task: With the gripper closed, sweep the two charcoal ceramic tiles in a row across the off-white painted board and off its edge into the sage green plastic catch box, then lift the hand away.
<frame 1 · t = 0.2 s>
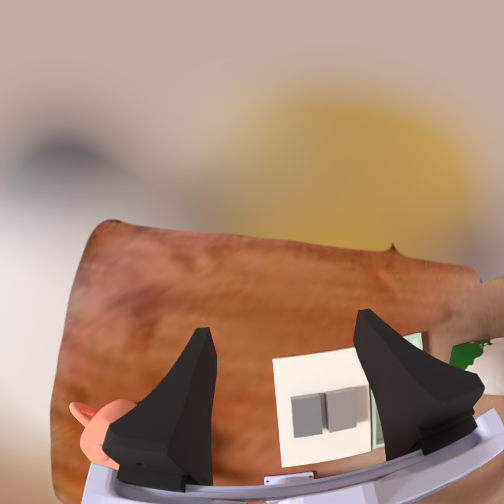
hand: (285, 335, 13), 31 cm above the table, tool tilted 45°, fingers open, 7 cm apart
board: (321, 406, 38), on the table
teapot: (139, 436, 37), on the table
milk carton: (460, 366, 37), on the table
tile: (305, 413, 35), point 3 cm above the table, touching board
catch box: (393, 390, 37), on the table
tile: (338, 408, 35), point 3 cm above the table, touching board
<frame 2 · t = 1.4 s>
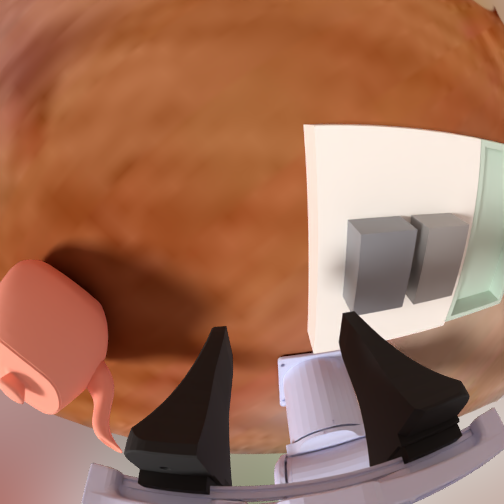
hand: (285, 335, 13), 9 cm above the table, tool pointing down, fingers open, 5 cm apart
board: (389, 236, 21), on the table
teapot: (70, 310, 24), on the table
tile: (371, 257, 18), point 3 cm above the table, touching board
catch box: (483, 227, 21), on the table
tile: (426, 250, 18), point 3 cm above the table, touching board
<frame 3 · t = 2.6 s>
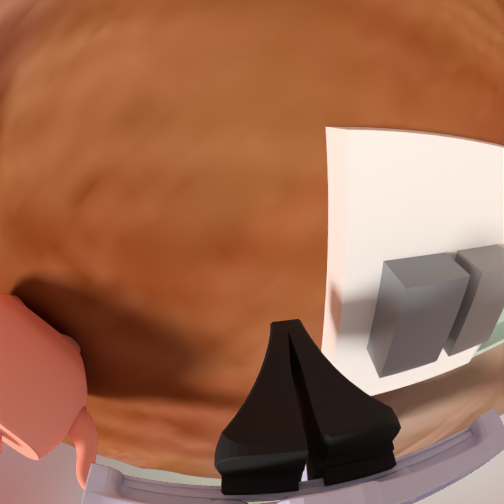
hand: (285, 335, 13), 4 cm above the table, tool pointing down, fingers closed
board: (422, 270, 16), on the table
teapot: (46, 345, 19), on the table
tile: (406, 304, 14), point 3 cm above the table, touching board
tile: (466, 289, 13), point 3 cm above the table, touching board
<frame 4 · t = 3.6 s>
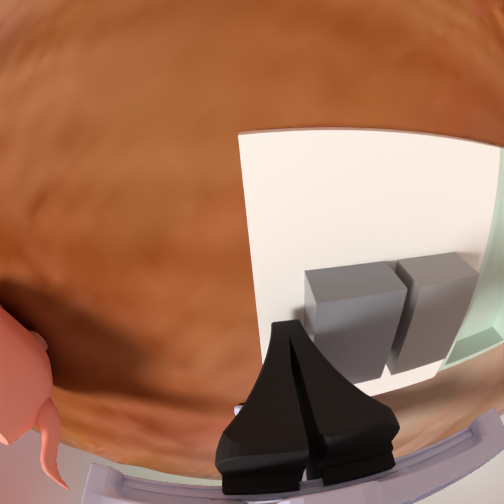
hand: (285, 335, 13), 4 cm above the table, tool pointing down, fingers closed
board: (368, 279, 16), on the table
teapot: (21, 341, 19), on the table
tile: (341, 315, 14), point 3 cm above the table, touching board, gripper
catch box: (493, 257, 16), on the table
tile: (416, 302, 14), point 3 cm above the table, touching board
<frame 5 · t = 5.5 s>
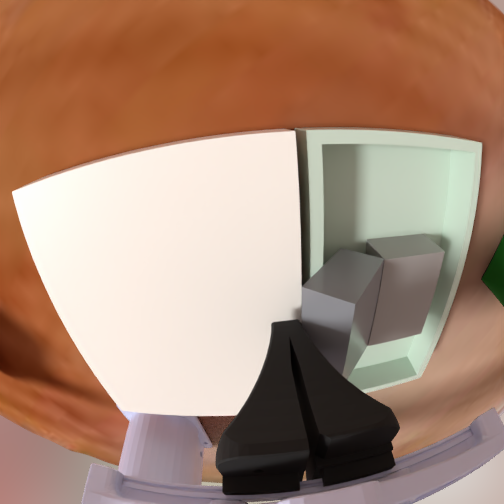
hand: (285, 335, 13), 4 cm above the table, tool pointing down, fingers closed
board: (176, 298, 16), on the table
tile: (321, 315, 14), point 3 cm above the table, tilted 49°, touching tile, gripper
catch box: (377, 277, 16), on the table
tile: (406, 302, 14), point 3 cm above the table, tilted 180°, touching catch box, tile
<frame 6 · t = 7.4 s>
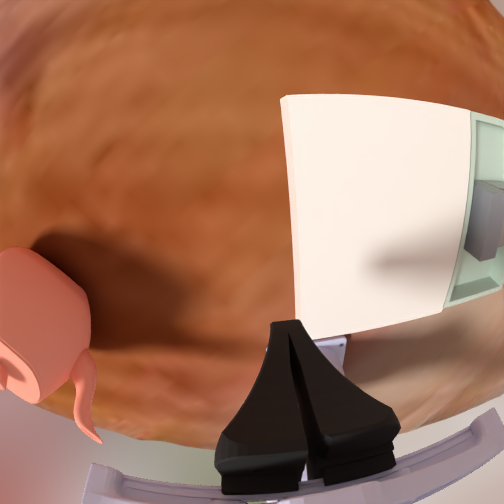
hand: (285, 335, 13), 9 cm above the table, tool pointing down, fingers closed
board: (377, 215, 20), on the table
teapot: (56, 299, 23), on the table
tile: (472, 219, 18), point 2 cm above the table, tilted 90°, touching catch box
catch box: (480, 207, 20), on the table
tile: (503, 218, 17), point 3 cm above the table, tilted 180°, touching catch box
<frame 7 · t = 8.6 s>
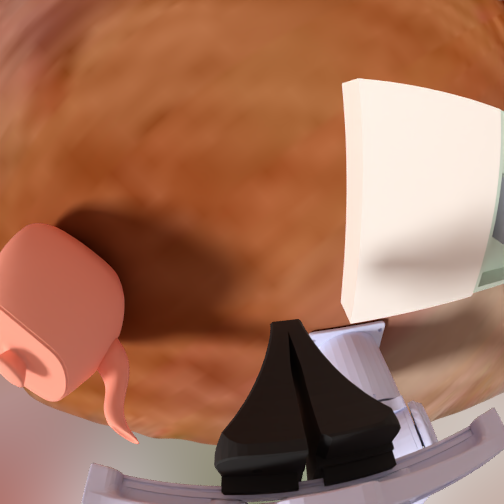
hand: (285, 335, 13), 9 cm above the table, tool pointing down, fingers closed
board: (421, 200, 20), on the table
teapot: (80, 285, 23), on the table
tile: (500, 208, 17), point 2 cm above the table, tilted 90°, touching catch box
catch box: (503, 199, 19), on the table
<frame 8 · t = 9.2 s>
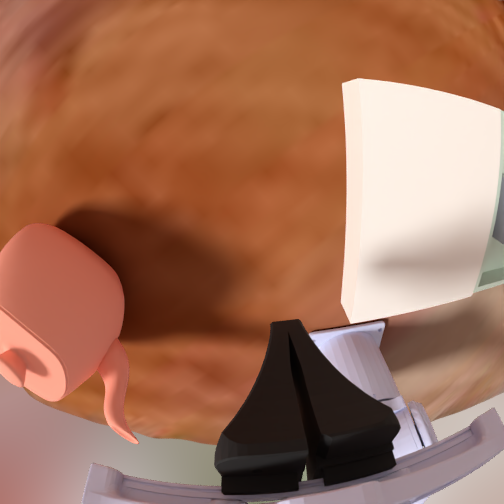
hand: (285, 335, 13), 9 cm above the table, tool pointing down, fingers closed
board: (421, 200, 20), on the table
teapot: (80, 285, 23), on the table
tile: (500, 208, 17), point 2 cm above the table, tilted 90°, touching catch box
catch box: (503, 199, 19), on the table
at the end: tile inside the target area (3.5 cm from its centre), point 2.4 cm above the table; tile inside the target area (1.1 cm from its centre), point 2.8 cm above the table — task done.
